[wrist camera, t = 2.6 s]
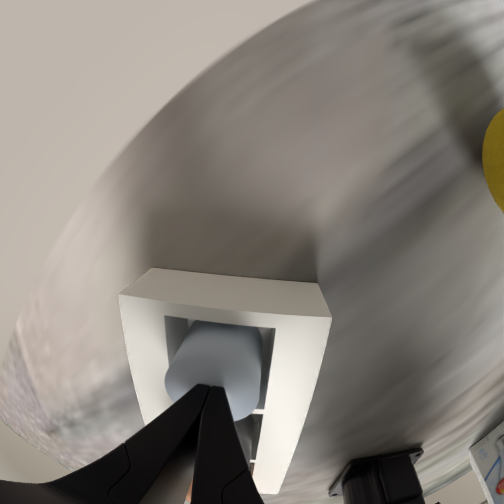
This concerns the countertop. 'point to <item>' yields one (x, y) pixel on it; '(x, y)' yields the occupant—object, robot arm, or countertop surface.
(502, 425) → the light bulb box
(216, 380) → the slate button
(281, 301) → the frame
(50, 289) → the countertop surface
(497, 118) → the lemon
